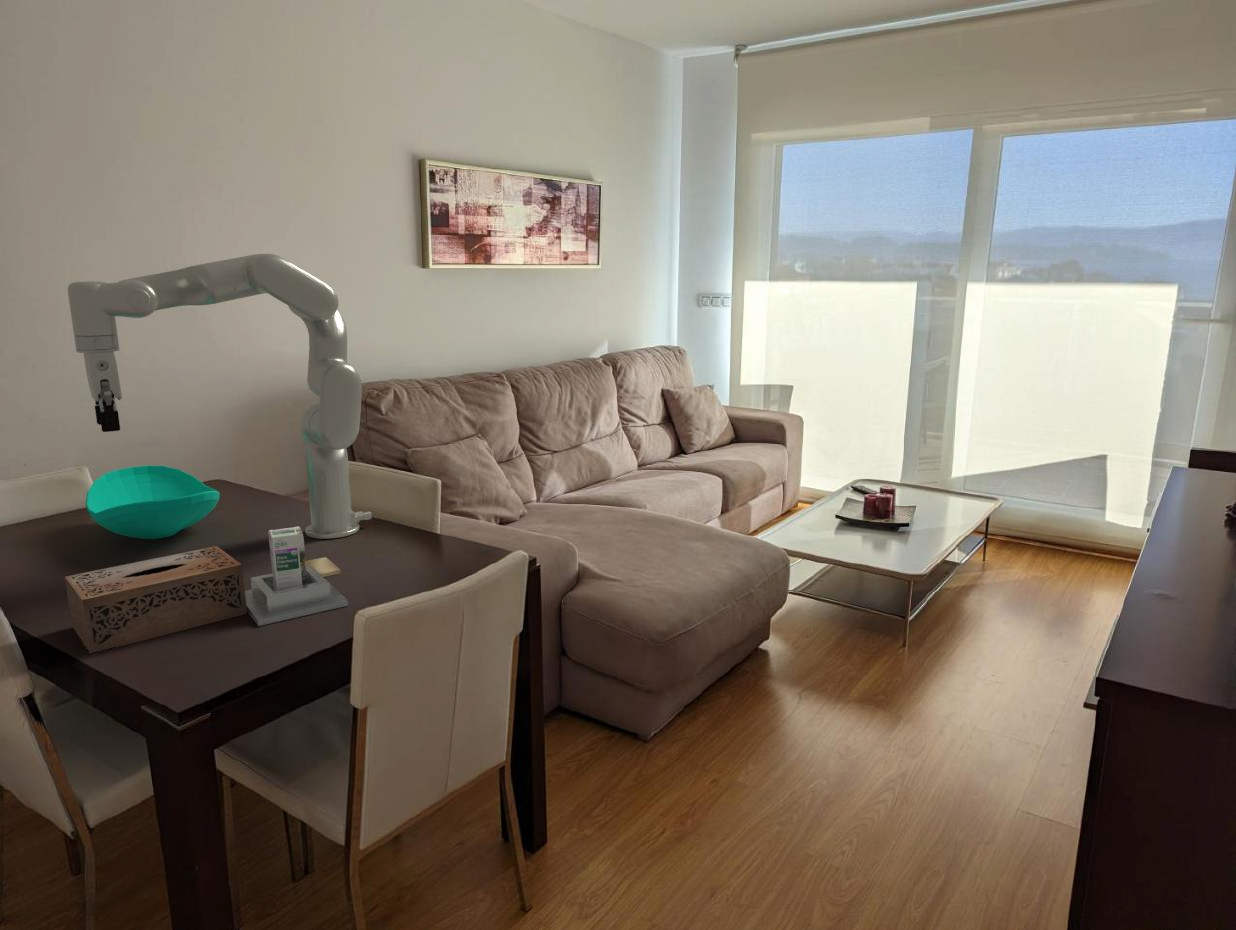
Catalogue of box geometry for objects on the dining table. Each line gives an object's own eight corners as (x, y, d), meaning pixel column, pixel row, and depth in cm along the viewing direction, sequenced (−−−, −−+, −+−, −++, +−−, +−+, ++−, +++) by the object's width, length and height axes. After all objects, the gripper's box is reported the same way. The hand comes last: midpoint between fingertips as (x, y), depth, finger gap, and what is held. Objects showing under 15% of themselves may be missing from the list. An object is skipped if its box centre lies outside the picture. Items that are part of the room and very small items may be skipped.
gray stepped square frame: (321, 580, 177) (319, 560, 176) (347, 605, 165) (346, 583, 163) (237, 598, 168) (234, 576, 167) (258, 626, 155) (256, 603, 154)
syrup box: (278, 610, 162) (271, 537, 159) (274, 599, 168) (267, 528, 164) (309, 604, 165) (303, 533, 162) (305, 594, 170) (299, 524, 167)
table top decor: (245, 542, 201) (240, 488, 198) (112, 569, 184) (104, 509, 180) (195, 506, 230) (190, 458, 227) (76, 526, 213) (68, 475, 210)
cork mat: (326, 560, 189) (325, 557, 189) (341, 573, 182) (340, 569, 181) (279, 569, 184) (279, 566, 184) (292, 583, 176) (292, 579, 176)
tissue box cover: (221, 593, 171) (216, 545, 169) (247, 614, 161) (242, 564, 159) (72, 628, 154) (64, 576, 152) (90, 655, 144) (82, 600, 142)
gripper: (123, 346, 168) (134, 432, 172) (113, 339, 181) (124, 419, 185) (78, 348, 163) (91, 436, 167) (72, 341, 177) (83, 423, 181)
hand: (108, 427), depth 176 cm, fingers open, 9 cm apart
